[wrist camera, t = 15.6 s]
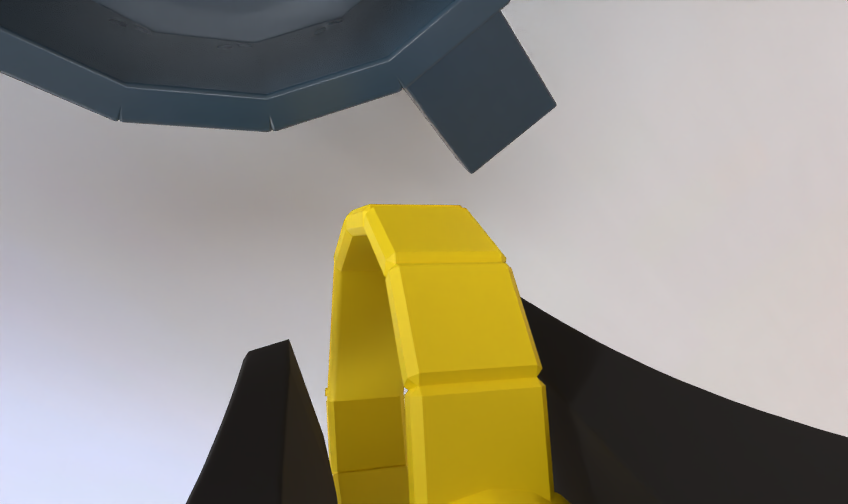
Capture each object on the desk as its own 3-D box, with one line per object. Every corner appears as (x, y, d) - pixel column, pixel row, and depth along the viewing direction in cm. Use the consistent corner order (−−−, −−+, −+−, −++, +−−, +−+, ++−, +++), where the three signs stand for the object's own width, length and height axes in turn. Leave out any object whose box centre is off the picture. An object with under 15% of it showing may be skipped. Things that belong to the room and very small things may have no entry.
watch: (423, 437, 13) (550, 785, 8) (283, 452, 12) (322, 850, 7) (469, 155, 10) (710, 397, 5) (293, 148, 9) (366, 430, 4)
